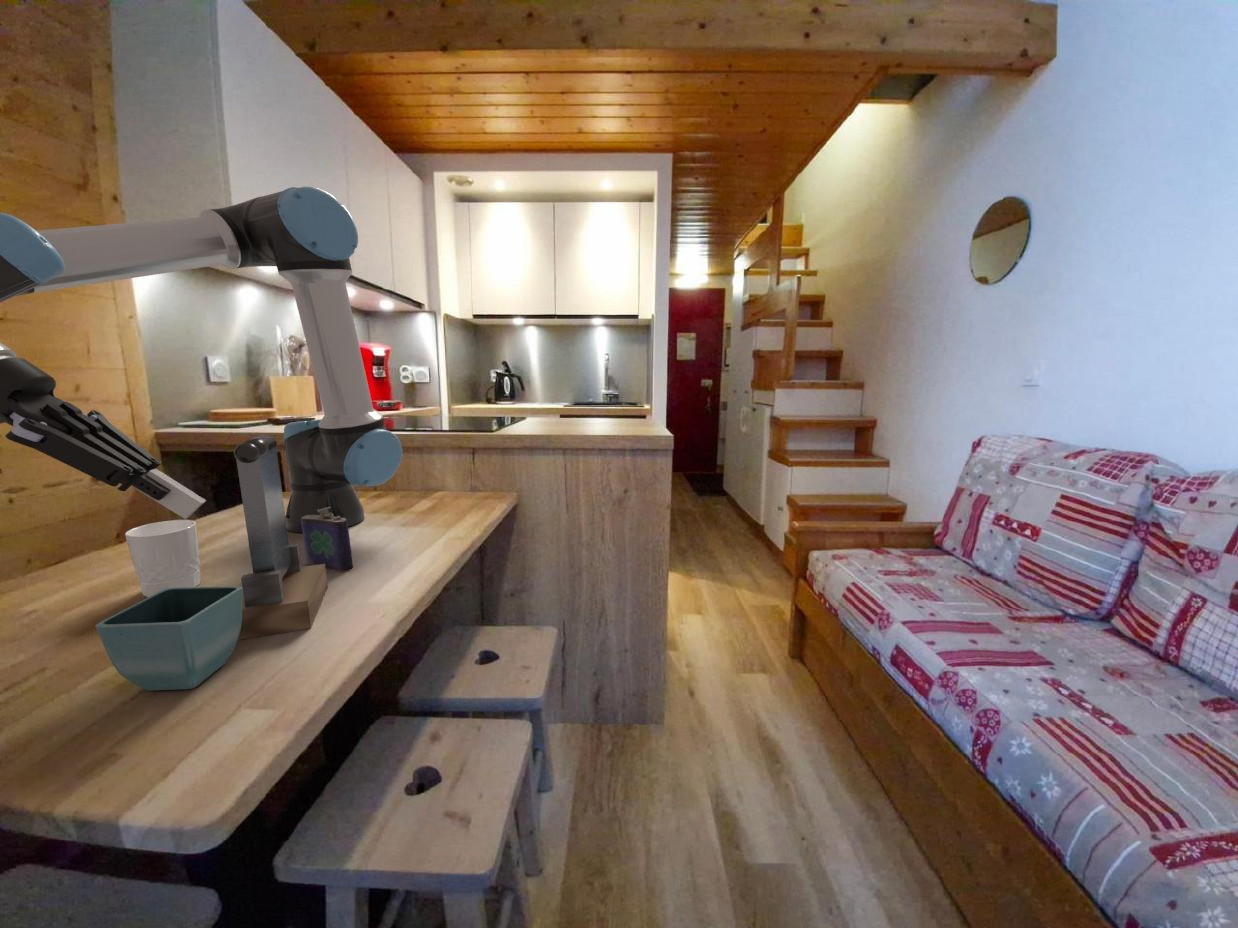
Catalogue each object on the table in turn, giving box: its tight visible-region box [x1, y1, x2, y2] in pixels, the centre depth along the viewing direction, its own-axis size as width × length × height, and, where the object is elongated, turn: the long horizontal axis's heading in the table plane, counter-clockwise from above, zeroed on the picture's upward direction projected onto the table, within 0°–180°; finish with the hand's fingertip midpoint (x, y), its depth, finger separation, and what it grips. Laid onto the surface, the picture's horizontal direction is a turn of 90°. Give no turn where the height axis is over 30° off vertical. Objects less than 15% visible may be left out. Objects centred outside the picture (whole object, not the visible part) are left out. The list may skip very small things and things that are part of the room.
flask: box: [301, 507, 354, 572], centre depth 84 cm, size 9×3×11 cm, turn 74°
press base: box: [237, 543, 329, 641], centre depth 68 cm, size 10×13×8 cm
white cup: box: [124, 519, 201, 598], centre depth 75 cm, size 8×8×10 cm
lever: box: [233, 433, 291, 578], centre depth 65 cm, size 3×9×21 cm, turn 22°
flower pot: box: [95, 585, 243, 691], centre depth 54 cm, size 9×9×9 cm
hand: (195, 509), depth 62 cm, fingers closed
